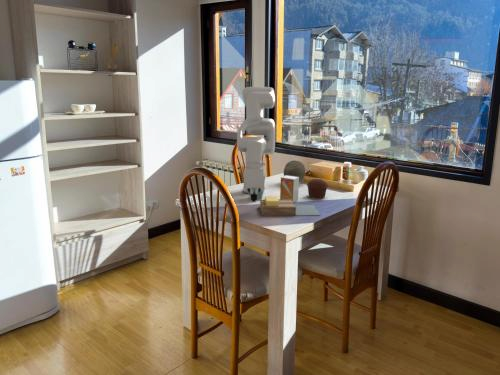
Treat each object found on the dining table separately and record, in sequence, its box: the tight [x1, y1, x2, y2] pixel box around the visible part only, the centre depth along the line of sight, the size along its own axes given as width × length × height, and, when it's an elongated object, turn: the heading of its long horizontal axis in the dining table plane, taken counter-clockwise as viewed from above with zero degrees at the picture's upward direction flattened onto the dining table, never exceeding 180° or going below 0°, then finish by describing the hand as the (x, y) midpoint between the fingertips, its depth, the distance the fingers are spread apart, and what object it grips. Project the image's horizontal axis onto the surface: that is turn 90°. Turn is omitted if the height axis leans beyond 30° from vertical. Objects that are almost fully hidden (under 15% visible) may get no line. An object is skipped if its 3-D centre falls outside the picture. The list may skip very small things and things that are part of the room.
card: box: [264, 195, 279, 206], centre depth 206 cm, size 9×6×2 cm, turn 4°
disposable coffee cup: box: [249, 172, 267, 201], centre depth 227 cm, size 11×11×15 cm
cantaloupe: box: [283, 160, 306, 183], centre depth 260 cm, size 14×14×15 cm
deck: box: [259, 198, 296, 217], centre depth 207 cm, size 14×16×4 cm
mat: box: [294, 204, 321, 217], centre depth 208 cm, size 16×12×1 cm
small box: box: [279, 175, 300, 203], centre depth 225 cm, size 8×6×13 cm
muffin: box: [306, 178, 329, 200], centre depth 233 cm, size 12×11×10 cm
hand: (253, 201), depth 205 cm, fingers closed
